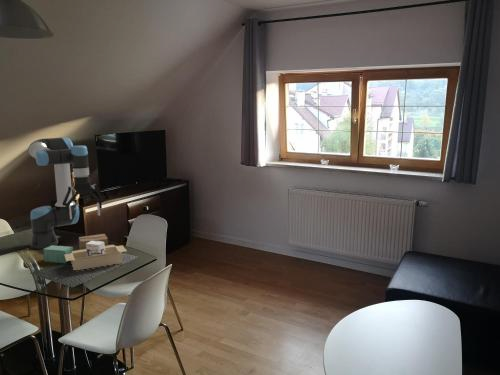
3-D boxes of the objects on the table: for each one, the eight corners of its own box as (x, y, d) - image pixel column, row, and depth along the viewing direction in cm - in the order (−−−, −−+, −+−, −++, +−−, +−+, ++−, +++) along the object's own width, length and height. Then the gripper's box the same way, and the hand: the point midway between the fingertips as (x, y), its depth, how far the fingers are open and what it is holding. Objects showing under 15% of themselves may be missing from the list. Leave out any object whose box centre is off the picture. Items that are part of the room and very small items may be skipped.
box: (66, 263, 222) (65, 250, 220) (43, 262, 224) (42, 249, 223) (74, 259, 229) (73, 246, 228) (52, 257, 231) (51, 245, 230)
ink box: (87, 264, 220) (85, 243, 218) (93, 261, 225) (91, 240, 223) (100, 266, 218) (98, 244, 215) (106, 262, 222) (104, 241, 220)
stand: (80, 254, 236) (78, 237, 234) (105, 250, 243) (104, 233, 241) (82, 259, 228) (80, 242, 226) (108, 255, 234) (107, 238, 232)
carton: (64, 263, 222) (63, 249, 221) (121, 253, 236) (120, 240, 235) (67, 274, 206) (66, 260, 205) (129, 263, 220) (128, 249, 219)
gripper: (54, 179, 202) (59, 221, 206) (108, 175, 213) (111, 215, 217) (54, 177, 209) (58, 218, 212) (106, 173, 220) (109, 212, 223)
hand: (85, 216), depth 214 cm, fingers open, 13 cm apart
